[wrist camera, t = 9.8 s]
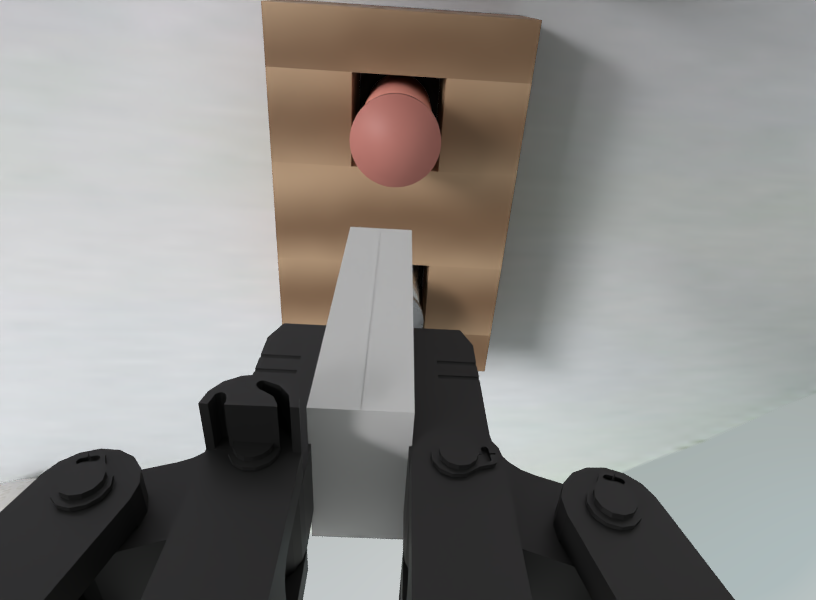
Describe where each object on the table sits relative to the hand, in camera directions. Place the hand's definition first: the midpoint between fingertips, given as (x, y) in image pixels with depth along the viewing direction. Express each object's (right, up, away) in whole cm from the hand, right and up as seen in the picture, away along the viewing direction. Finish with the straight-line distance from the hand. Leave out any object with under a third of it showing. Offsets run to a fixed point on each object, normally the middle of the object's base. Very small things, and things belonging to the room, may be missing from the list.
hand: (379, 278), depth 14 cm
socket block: (0, +7, +24) cm, 25 cm away
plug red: (0, +11, +20) cm, 23 cm away
